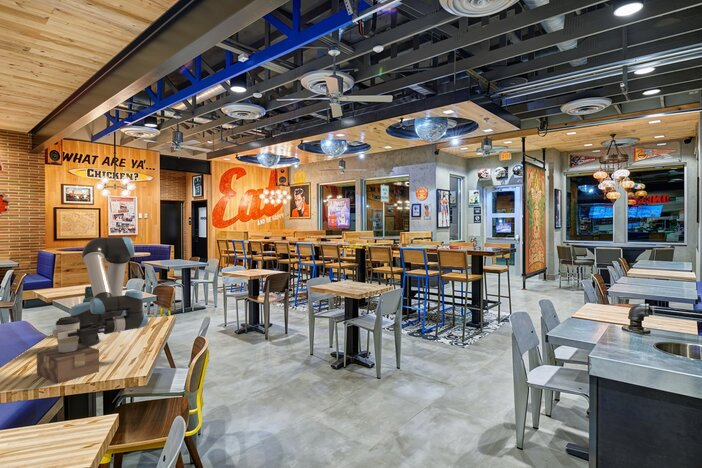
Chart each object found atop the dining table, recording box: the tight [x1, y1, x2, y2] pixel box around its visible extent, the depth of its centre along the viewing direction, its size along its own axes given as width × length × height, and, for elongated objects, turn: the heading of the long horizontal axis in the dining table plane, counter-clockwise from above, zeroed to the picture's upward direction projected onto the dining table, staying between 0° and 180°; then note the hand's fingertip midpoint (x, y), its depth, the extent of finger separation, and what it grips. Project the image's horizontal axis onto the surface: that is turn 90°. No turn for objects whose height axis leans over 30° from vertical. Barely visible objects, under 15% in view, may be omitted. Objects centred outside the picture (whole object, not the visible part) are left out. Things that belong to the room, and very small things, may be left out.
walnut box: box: [36, 344, 100, 384], centre depth 171 cm, size 20×16×10 cm
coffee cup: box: [55, 316, 80, 353], centre depth 171 cm, size 9×9×15 cm
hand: (55, 334), depth 167 cm, fingers closed on coffee cup, 8 cm apart
